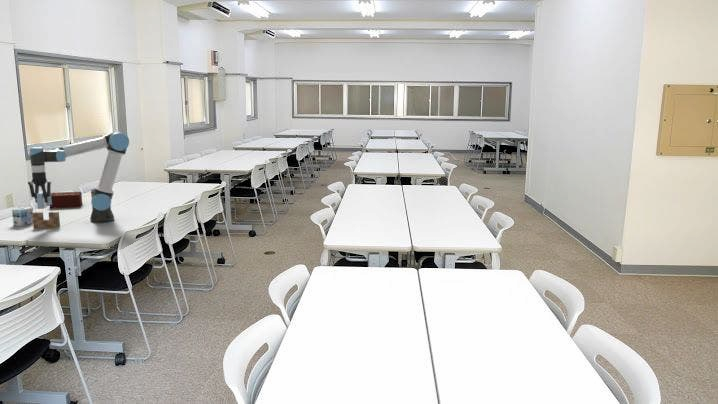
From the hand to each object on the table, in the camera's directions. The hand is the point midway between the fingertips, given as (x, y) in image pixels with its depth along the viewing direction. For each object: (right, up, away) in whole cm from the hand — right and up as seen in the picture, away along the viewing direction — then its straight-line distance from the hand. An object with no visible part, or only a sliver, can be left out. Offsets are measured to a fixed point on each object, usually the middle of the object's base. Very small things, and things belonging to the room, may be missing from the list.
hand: (42, 207), depth 339 cm
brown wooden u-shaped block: (-1, -13, +7) cm, 15 cm away
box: (-25, 0, +74) cm, 78 cm away
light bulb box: (-20, -12, +14) cm, 27 cm away
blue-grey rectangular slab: (-1, +1, +4) cm, 5 cm away
